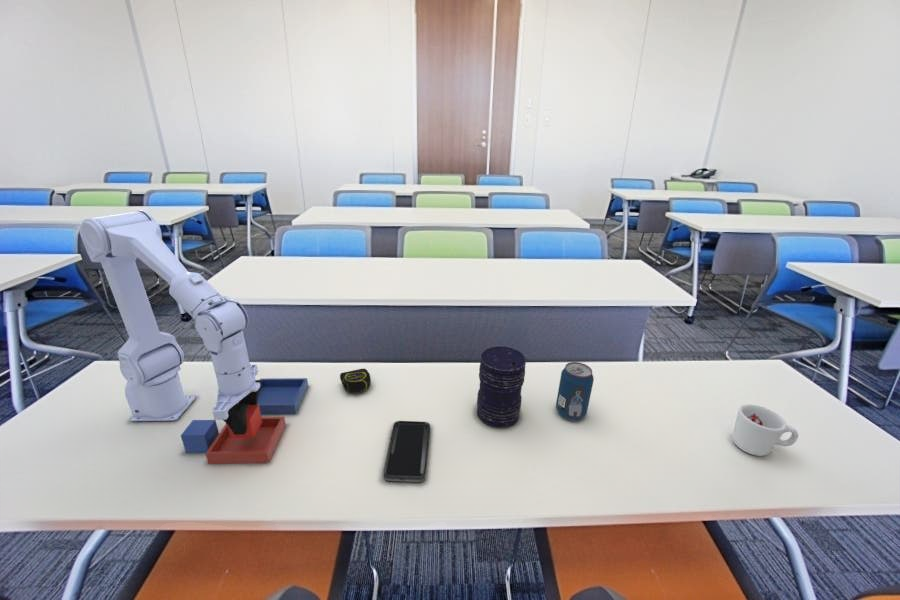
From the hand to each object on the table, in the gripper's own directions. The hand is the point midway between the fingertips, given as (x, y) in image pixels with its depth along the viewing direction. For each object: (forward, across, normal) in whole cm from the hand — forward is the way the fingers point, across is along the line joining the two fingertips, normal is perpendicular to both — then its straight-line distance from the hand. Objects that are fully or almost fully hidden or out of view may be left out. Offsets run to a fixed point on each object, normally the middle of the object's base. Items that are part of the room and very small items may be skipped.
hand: (245, 424), depth 78 cm
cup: (+5, -4, -105) cm, 105 cm away
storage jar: (+5, +8, -52) cm, 53 cm away
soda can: (+5, +8, -69) cm, 70 cm away
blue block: (+5, 0, +9) cm, 10 cm away
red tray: (+5, 0, 0) cm, 5 cm away
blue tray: (+5, +14, -1) cm, 15 cm away
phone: (+5, -3, -32) cm, 33 cm away
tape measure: (+5, +19, -18) cm, 27 cm away
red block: (+1, 0, 0) cm, 1 cm away
